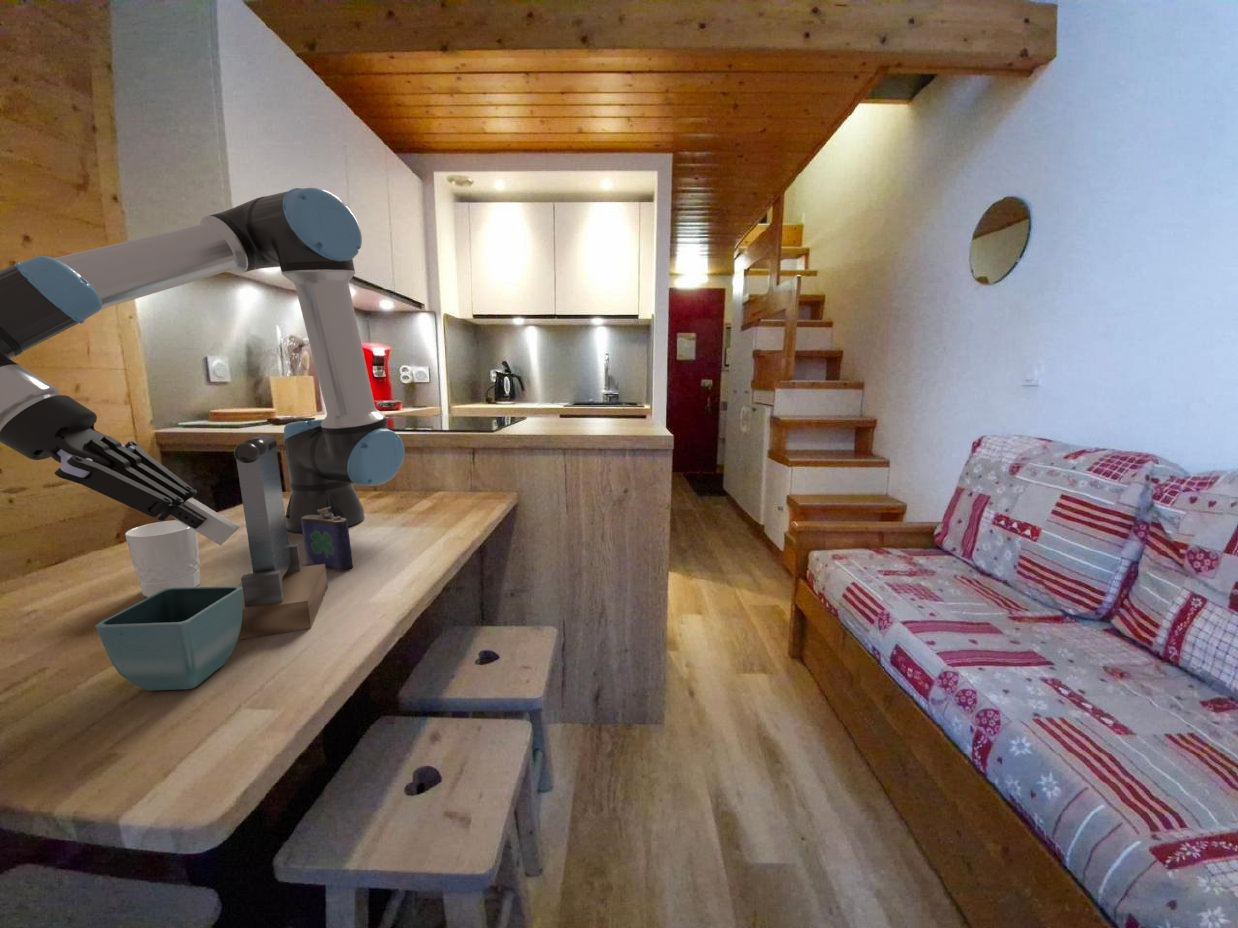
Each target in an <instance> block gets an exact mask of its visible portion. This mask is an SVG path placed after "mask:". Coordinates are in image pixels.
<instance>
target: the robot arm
mask: <svg viewBox="0 0 1238 928" xmlns="http://www.w3.org/2000/svg"><path fill="white" fill-rule="evenodd" d="M362 239H363V236H362V231H361V228H360V225H359V223H358V220H357V218H356V217H355V215H354V214H353V212H352V211H351V209H350V208H349V206H347V205H346V204H345V203H343V201H342V200H341V199H340V198H339V197H338V196H337V195H335V194H333V193H332V192H329V191H327V190H325V189H322V188H318V187H306V188H302V187H301V188H298V187H295V188H292V189H290V190H288V191H284V192H280V193H274V194H271V195H267V196H266V195H265V196H260V197H256V198H254V199H251V200H249V201H247V202H244V203H242V204H240V205H239V204H238V205H237V206H235V207H232V208H229V209H227V210H224V211H222V212H218V213H215V214H214V213H213V214H210V215H206V216H205V215H204V216H202V218H201V219H200V222H199V224H196V225H194V226H188V227H184V228H179V229H177V230H171V231H167V232H162V233H158V234H153V235H149V236H145V237H139V238H136V239H131V240H127V241H123V242H118V243H115V244H110V245H106V246H101V247H95V248H93V249H87V250H83V251H79V252H75V253H74V252H73V253H70V254H66V255H61V256H57V257H51V256H47V255H39V256H38V255H37V256H35V257H31V258H30V259H27V260H23V261H21V262H20V261H18V262H15V263H14V264H13V265H12V266H9V267H6V268H4V269H1V270H0V443H2V444H3V445H5V446H7V447H9V448H11V449H12V450H13V451H15V452H18V454H21V455H23V456H24V457H25V458H28V459H30V460H33V461H40V460H41V461H42V460H46V459H49V458H52V459H53V460H54V461H56V462H57V463H60V467H59V468H58V469H56V471H54V475H56V477H58V478H60V479H63V480H66V481H69V482H73V483H76V484H79V485H82V486H84V487H87V488H89V489H91V490H92V491H94V492H97V493H99V494H101V495H104V496H106V497H108V498H111V499H112V500H115V501H117V502H119V503H121V504H122V505H123V504H124V505H125V506H128V507H130V508H132V509H134V510H136V511H138V512H140V513H143V514H144V515H147V516H149V517H152V518H157V520H158V521H159V522H163V521H165V520H167V518H169V516H170V517H171V518H173V519H174V520H178V521H180V522H181V523H183V524H185V525H186V526H188V527H190V528H192V529H193V530H195V531H197V534H200V535H202V536H204V537H205V538H207V539H208V540H209V541H210V540H211V541H212V542H214V543H215V544H216V545H219V546H222V545H223V544H224V543H225V542H226V541H227V540H228V539H230V537H231V536H232V535H233V534H235V532H237V530H238V529H239V528H240V526H239V525H237V524H236V523H234V522H233V521H231V520H229V519H228V518H226V517H225V516H224V515H221V514H220V513H218V512H216V511H215V510H213V509H212V508H210V507H208V506H207V505H206V504H203V503H202V502H201V501H199V500H197V499H195V498H193V497H194V496H195V495H196V494H197V493H198V490H196V489H195V488H193V487H192V486H190V485H189V484H188V483H187V482H185V481H184V480H182V479H181V478H180V477H179V476H177V475H176V474H175V473H173V472H172V471H171V470H169V469H168V468H167V467H165V466H164V465H163V464H161V463H160V462H159V461H158V460H156V459H155V457H152V456H151V455H149V454H148V453H147V451H145V450H144V449H143V447H142V446H141V445H140V444H139V443H137V442H136V441H134V440H133V441H132V440H129V441H128V442H127V443H125V444H122V443H121V441H119V440H117V439H116V438H114V437H112V436H110V435H107V434H104V433H102V432H100V431H97V430H96V429H95V424H96V423H97V420H98V416H97V414H96V413H95V412H94V411H92V410H91V409H89V408H88V407H86V406H84V405H83V404H81V403H80V402H78V401H77V400H75V399H73V398H72V397H70V396H69V395H65V394H60V390H59V388H57V387H56V386H54V385H52V384H51V383H49V382H48V381H46V380H44V379H43V378H42V377H39V376H38V375H36V373H33V372H32V371H30V370H29V369H27V368H25V366H22V365H20V364H18V363H17V362H15V361H13V360H12V359H13V358H14V357H17V356H19V355H21V354H22V353H23V352H25V351H27V350H30V349H31V348H33V347H36V346H37V345H39V344H41V343H43V342H45V341H47V340H49V339H50V338H52V337H55V336H56V335H59V334H61V333H62V332H63V333H64V331H67V330H69V329H70V328H72V327H75V326H76V325H79V324H80V325H81V324H83V323H84V322H85V321H86V320H87V319H88V318H90V317H92V316H93V315H95V314H98V313H99V311H101V310H104V309H108V308H111V307H113V306H117V305H121V304H124V303H126V302H130V301H133V300H136V299H140V298H143V297H146V296H149V295H153V294H157V293H160V292H163V291H166V290H170V289H173V288H176V287H179V286H182V285H185V284H189V283H192V282H196V281H198V280H199V281H200V280H203V279H206V278H209V277H213V276H216V275H219V274H222V273H226V272H232V273H234V274H237V275H238V274H239V275H240V274H241V275H242V274H244V273H248V272H251V271H256V270H261V269H268V268H280V270H281V274H282V276H284V277H285V278H286V279H287V280H289V281H290V282H291V283H293V285H294V286H295V290H296V294H297V297H298V302H299V306H300V310H301V314H302V318H303V323H304V326H305V330H306V334H307V338H308V342H309V346H310V350H311V355H312V358H313V362H314V363H313V364H314V366H315V369H316V370H315V371H316V374H317V375H316V376H317V378H318V382H319V387H320V390H321V395H322V399H323V403H324V407H325V413H326V416H325V417H324V418H323V419H322V418H321V419H312V420H302V421H294V422H293V421H292V422H289V423H286V424H285V426H284V429H283V444H284V447H285V453H286V460H287V461H286V462H287V469H288V476H289V477H288V478H289V484H290V495H289V496H290V497H289V501H288V503H287V507H286V512H285V518H286V525H287V531H289V532H292V533H297V534H298V533H299V534H303V532H302V525H301V517H303V516H306V515H320V513H319V512H318V511H317V510H318V509H319V510H320V509H323V508H325V507H331V508H330V509H329V508H328V512H331V513H333V516H334V517H338V516H341V518H345V519H347V521H348V528H349V527H352V526H354V525H357V524H360V522H362V521H363V520H364V519H365V509H364V506H363V504H362V503H361V500H360V498H359V496H358V494H357V492H356V490H355V488H354V485H353V484H355V485H357V486H363V487H364V486H374V487H375V486H380V485H383V484H385V483H388V482H389V481H391V480H392V479H393V478H394V477H395V476H396V475H397V474H398V472H399V469H400V468H402V465H403V462H404V459H405V445H404V442H403V439H402V438H401V437H400V435H398V434H397V433H396V432H395V431H394V430H390V429H389V427H388V423H387V422H388V421H387V417H386V415H385V413H383V412H381V411H380V410H378V409H377V408H376V404H375V400H374V396H373V391H372V387H371V382H370V377H369V371H368V368H367V364H366V359H365V353H364V349H363V345H362V339H361V335H360V331H359V326H358V323H357V322H358V321H357V318H356V312H355V308H354V303H353V299H352V293H351V289H350V284H349V283H350V281H351V279H352V278H353V277H354V276H355V275H356V271H355V265H354V258H355V257H356V256H357V255H358V254H359V250H360V249H361V248H362V244H363V243H362V241H363V240H362Z"/></svg>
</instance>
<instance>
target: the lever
mask: <svg viewBox="0 0 1238 928" xmlns="http://www.w3.org/2000/svg"><path fill="white" fill-rule="evenodd" d="M233 455H234V458H235V460H236V466H237V471H238V472H237V473H238V479H239V487H240V493H241V500H242V506H243V512H244V520H245V528H246V533H247V541H248V547H249V554H250V561H251V568H252V573H253V574H254V573H262V572H270V571H278V570H281V575H282V578H283V577H284V575H285V573H286V572H287V570H288V568H289V567H290V565H291V556H290V548H289V545H290V543H289V542H290V541H289V533H288V530H287V525H286V518H285V515H286V512H285V503H284V496H283V487H282V481H281V475H280V473H281V472H280V465H279V464H280V463H279V458H278V450H277V440H276V439H275V437H274V436H272V435H270V434H267V433H264V434H263V433H262V434H260V435H256V436H255V437H253V438H250V439H249V440H246V441H243V442H241V443H239V444H238V445H236V447H235V448H234V449H233Z"/></svg>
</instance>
